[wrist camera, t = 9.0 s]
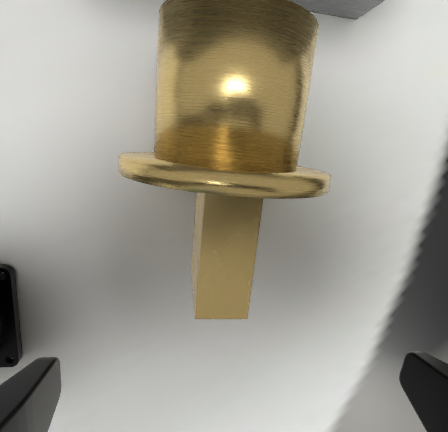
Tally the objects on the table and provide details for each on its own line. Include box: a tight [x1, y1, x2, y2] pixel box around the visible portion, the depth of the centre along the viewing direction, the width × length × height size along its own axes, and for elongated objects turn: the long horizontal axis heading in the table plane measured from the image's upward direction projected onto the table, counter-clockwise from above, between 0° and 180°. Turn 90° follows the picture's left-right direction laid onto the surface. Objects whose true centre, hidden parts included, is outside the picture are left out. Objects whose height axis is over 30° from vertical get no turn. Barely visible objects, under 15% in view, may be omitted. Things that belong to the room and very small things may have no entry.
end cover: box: [119, 0, 331, 319], centre depth 12 cm, size 11×8×8 cm
